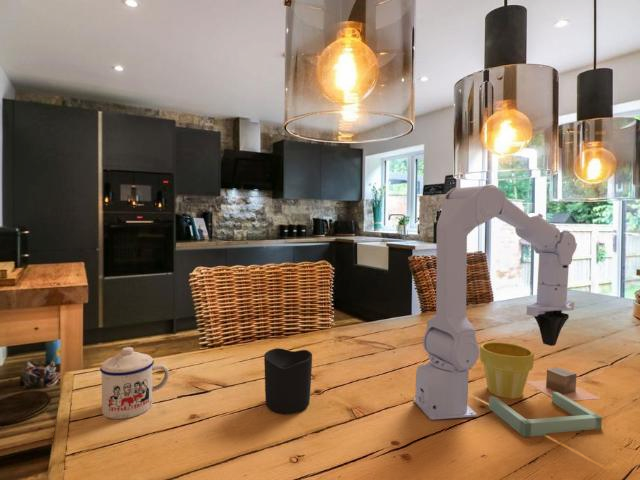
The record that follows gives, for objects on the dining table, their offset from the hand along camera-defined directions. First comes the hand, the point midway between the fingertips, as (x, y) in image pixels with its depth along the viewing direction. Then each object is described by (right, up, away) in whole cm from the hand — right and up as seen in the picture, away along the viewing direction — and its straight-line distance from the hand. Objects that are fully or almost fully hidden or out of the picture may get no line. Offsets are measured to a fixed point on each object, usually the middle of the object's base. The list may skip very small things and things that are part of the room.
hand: (549, 344), depth 86 cm
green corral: (-9, -10, -13) cm, 19 cm away
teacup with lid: (-87, -9, -12) cm, 88 cm away
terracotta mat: (+2, -10, -1) cm, 10 cm away
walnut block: (+2, -10, -1) cm, 10 cm away
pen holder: (-58, -10, -10) cm, 59 cm away
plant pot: (-11, -10, -2) cm, 15 cm away
